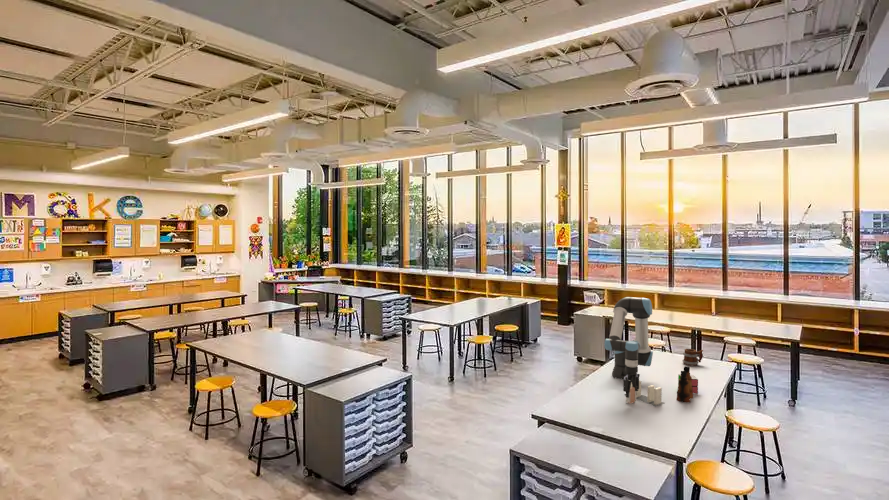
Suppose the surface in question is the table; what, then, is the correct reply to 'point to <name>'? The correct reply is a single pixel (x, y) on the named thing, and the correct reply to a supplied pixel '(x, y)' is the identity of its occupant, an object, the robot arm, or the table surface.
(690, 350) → the mug
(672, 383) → the table surface
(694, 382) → the puzzle cube
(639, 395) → the domino
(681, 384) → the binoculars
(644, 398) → the mat
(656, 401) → the domino
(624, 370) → the robot arm
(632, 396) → the domino gap
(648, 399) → the domino
